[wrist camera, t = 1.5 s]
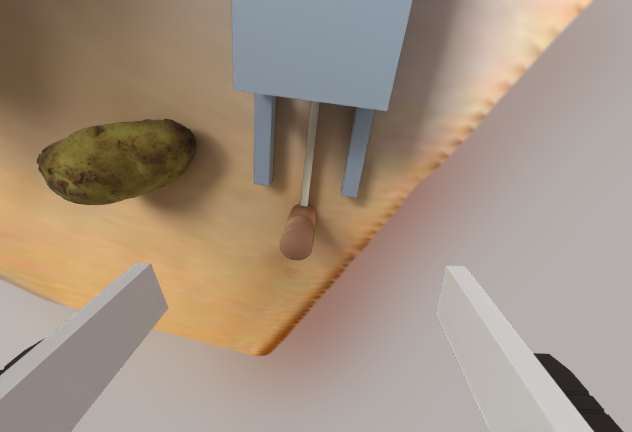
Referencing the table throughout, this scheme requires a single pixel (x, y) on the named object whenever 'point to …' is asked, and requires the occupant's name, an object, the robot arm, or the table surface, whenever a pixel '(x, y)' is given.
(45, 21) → the table surface
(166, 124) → the dirty green tuber
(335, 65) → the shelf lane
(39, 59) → the table surface
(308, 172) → the wooden mallet
